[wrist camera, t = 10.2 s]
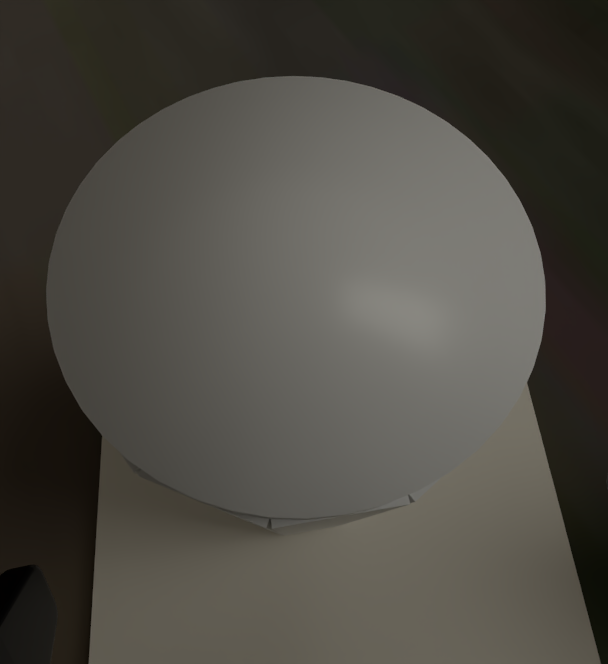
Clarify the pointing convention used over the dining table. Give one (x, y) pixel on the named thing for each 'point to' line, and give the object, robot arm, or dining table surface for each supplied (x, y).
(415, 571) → the placemat
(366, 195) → the cover cup
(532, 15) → the dining table surface
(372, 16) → the dining table surface
